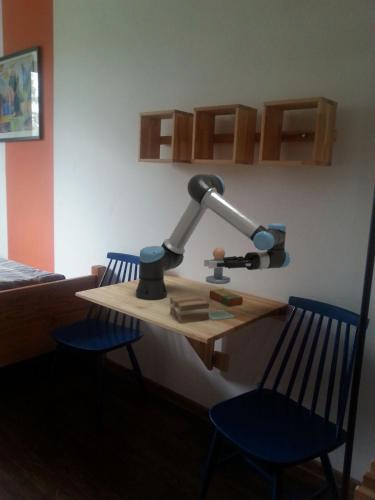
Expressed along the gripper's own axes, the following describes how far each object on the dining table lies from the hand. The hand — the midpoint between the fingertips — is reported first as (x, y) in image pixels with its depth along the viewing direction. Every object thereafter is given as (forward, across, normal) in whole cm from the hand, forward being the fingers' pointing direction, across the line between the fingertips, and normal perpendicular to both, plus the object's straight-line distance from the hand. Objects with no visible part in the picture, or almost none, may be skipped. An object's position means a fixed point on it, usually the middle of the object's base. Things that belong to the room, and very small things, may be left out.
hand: (206, 264), depth 171 cm
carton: (-19, +18, -23) cm, 34 cm away
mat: (-6, 0, -22) cm, 23 cm away
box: (+6, +2, -22) cm, 23 cm away
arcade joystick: (-5, 0, -8) cm, 9 cm away
